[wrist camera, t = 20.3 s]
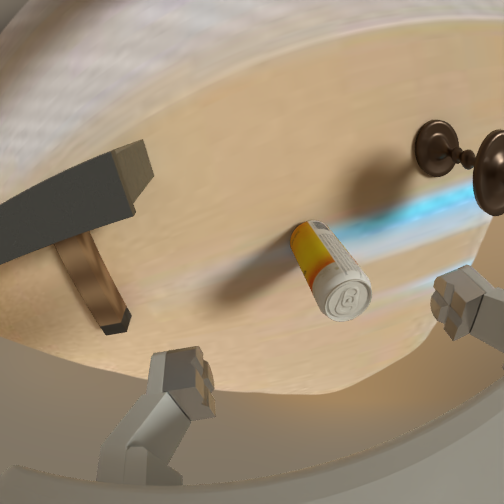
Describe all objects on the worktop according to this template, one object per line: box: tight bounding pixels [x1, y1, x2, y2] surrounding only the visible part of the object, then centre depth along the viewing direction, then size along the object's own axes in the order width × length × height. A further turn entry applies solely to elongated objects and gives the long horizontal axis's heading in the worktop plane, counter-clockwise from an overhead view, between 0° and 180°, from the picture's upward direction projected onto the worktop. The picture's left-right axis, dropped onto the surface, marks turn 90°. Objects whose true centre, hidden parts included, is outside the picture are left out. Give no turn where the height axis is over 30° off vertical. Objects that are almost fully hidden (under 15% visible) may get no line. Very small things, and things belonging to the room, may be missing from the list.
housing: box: [0, 139, 154, 265], centre depth 28 cm, size 6×29×13 cm, turn 102°
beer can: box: [290, 220, 372, 322], centre depth 35 cm, size 6×6×15 cm
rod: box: [54, 231, 132, 335], centre depth 39 cm, size 20×4×4 cm, turn 12°
